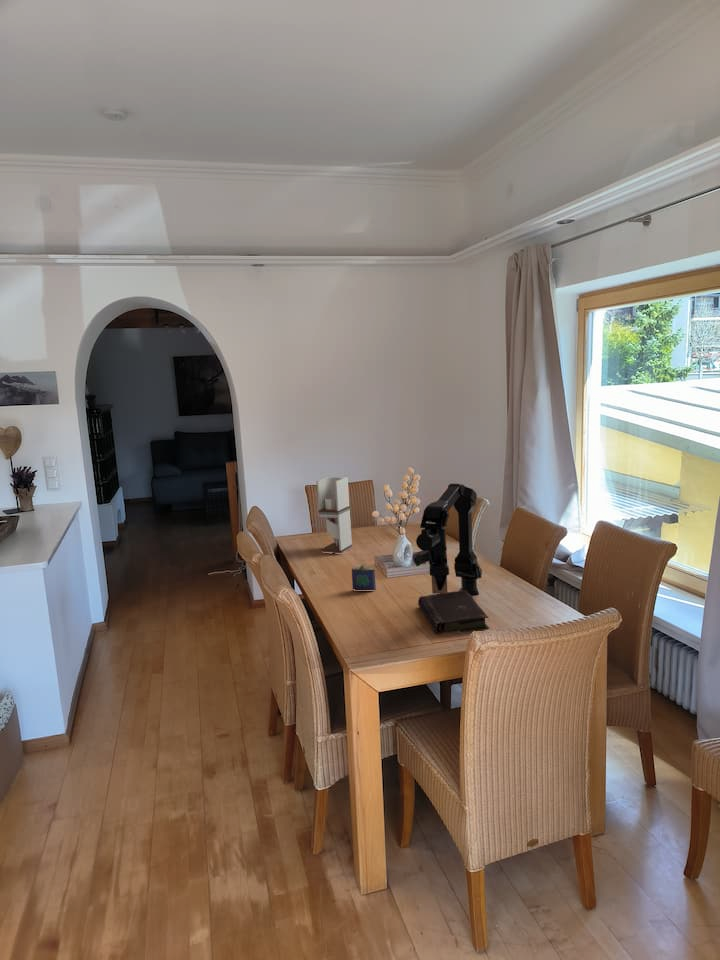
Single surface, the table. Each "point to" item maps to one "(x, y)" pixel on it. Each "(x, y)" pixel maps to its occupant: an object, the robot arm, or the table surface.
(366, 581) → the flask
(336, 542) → the display case
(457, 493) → the robot arm
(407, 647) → the table surface
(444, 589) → the metal block
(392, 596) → the table surface
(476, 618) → the diary
